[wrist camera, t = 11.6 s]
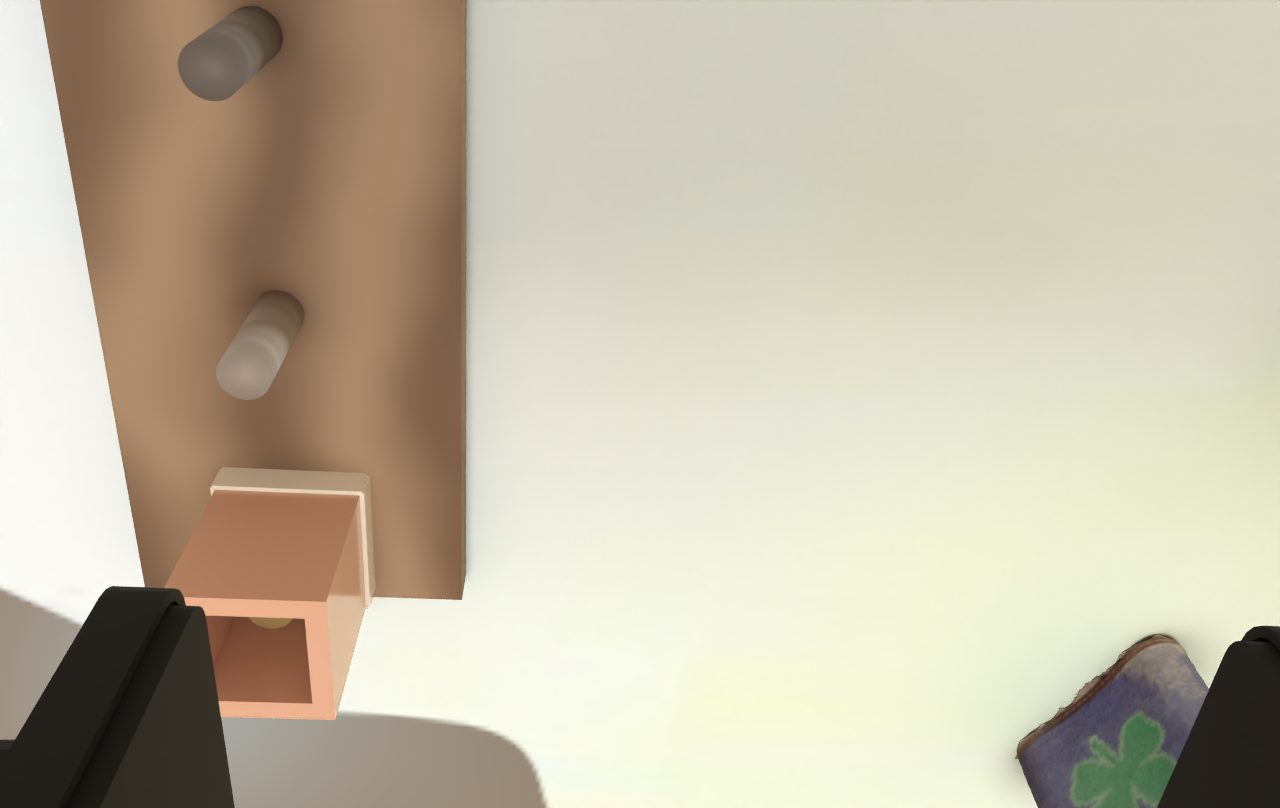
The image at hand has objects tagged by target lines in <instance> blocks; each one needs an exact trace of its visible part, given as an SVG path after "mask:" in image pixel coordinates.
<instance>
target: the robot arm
mask: <svg viewBox="0 0 1280 808" xmlns="http://www.w3.org/2000/svg"><path fill="white" fill-rule="evenodd" d="M0 808H234V801H233V795H232V788H231V781H230V774H229V768H228V762H227V754H226V747H225V741H224V734H223V727H222V721H221V714H220V707H219V701H218V694H217V687H216V680H215V674H214V667H213V660H212V654H211V647H210V640H209V634H208V627H207V620H206V616H205V612H204V610H203V608H202V607H200V606H186V604H185V600H184V596H183V594H182V593H181V591H180V590H178V589H175V588H147V587H118V586H111V587H109V588H108V589H106V590H105V591H104V592H103V593H102V595H101V596H100V597H99V599H98V601H97V602H96V604H95V606H94V607H93V609H92V611H91V612H90V614H89V616H88V617H87V619H86V621H85V623H84V624H83V626H82V628H81V629H80V631H79V633H78V634H77V636H76V638H75V640H74V641H73V643H72V645H71V646H70V648H69V650H68V651H67V653H66V655H65V656H64V658H63V660H62V662H61V663H60V665H59V667H58V668H57V670H56V672H55V673H54V675H53V677H52V678H51V680H50V682H49V683H48V685H47V687H46V689H45V690H44V692H43V694H42V695H41V697H40V699H39V700H38V702H37V704H36V705H35V707H34V709H33V711H32V712H31V714H30V716H29V717H28V719H27V721H26V723H25V724H24V726H23V727H22V729H21V731H20V732H19V734H18V736H17V738H16V739H15V740H0ZM1157 808H1280V626H1258V627H1253V628H1252V629H1251V630H1249V631H1248V632H1246V634H1245V636H1244V637H1243V639H1242V640H1241V641H1236V642H1234V643H1233V644H1231V645H1230V646H1229V648H1228V649H1227V651H1226V652H1225V655H1224V657H1223V659H1222V661H1221V664H1220V666H1219V668H1218V670H1217V673H1216V675H1215V677H1214V679H1213V682H1212V684H1211V686H1210V688H1209V691H1208V693H1207V695H1206V698H1205V700H1204V702H1203V704H1202V707H1201V709H1200V711H1199V713H1198V716H1197V718H1196V720H1195V722H1194V725H1193V727H1192V729H1191V731H1190V734H1189V736H1188V738H1187V741H1186V743H1185V745H1184V747H1183V750H1182V752H1181V754H1180V756H1179V759H1178V761H1177V763H1176V765H1175V768H1174V770H1173V772H1172V775H1171V777H1170V779H1169V781H1168V784H1167V786H1166V788H1165V790H1164V793H1163V795H1162V797H1161V799H1160V802H1159V804H1158V806H1157Z"/></svg>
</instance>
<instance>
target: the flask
mask: <svg viewBox="0 0 1280 808" xmlns="http://www.w3.org/2000/svg"><path fill="white" fill-rule="evenodd" d="M1119 658H1121V659H1120V661H1119V662H1117V663H1116V664H1115V665H1113V666H1112V667H1111V668H1110V669H1108V670H1107V671H1106V672H1103V673H1102V675H1100V676H1097V677H1095V678H1094V679H1093V680H1092V681H1091V682H1089V683H1086V684H1085V686H1084V688H1083V689H1081V690H1079V692H1078V694H1076V695H1077V697H1076V698H1075V700H1074V702H1073V704H1071V706H1069V707H1067V708H1066V709H1065V708H1059V711H1058V712H1057V714H1056V716H1055V718H1053V719H1052V720H1051V721H1050V722H1047V723H1044V724H1040V727H1038V729H1037V730H1036V731H1035V732H1033V733H1031V734H1030V735H1029V736H1027V737H1026V738H1024V739H1022V740H1021V741H1020V742H1019V745H1018V749H1017V750H1018V751H1017V756H1016V757H1015V759H1019V762H1020V764H1021V766H1022V769H1023V773H1024V775H1025V777H1026V779H1027V783H1028V785H1029V787H1030V789H1031V792H1032V794H1033V797H1034V799H1035V802H1036V804H1037V806H1038V808H1157V806H1158V804H1159V802H1160V799H1161V797H1162V795H1163V793H1164V790H1165V788H1166V786H1167V784H1168V781H1169V779H1170V777H1171V775H1172V772H1173V770H1174V768H1175V765H1176V763H1177V761H1178V759H1179V756H1180V754H1181V752H1182V750H1183V747H1184V745H1185V743H1186V741H1187V738H1188V736H1189V734H1190V731H1191V729H1192V727H1193V725H1194V722H1195V720H1196V718H1197V716H1198V713H1199V711H1200V709H1201V707H1202V704H1203V702H1204V700H1205V698H1206V695H1207V693H1208V691H1209V689H1208V687H1207V686H1206V684H1205V683H1204V681H1203V679H1202V678H1201V677H1200V675H1199V674H1198V672H1197V671H1196V669H1195V667H1194V665H1193V664H1192V663H1191V661H1190V659H1189V658H1188V656H1187V654H1186V652H1185V651H1184V649H1183V648H1182V647H1181V646H1180V645H1179V644H1177V643H1176V642H1175V641H1174V640H1172V639H1171V638H1167V637H1164V636H1162V635H1159V634H1156V635H1154V636H1153V638H1150V639H1148V640H1145V641H1144V642H1141V643H1137V644H1135V645H1134V646H1132V647H1131V648H1129V649H1128V650H1127V651H1124V652H1123V653H1122V654H1120V655H1119Z"/></svg>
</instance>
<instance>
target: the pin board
mask: <svg viewBox="0 0 1280 808" xmlns="http://www.w3.org/2000/svg"><path fill="white" fill-rule="evenodd" d="M40 4H41V9H42V15H43V20H44V26H45V31H46V37H47V43H48V48H49V54H50V59H51V65H52V71H53V76H54V82H55V87H56V93H57V98H58V104H59V110H60V115H61V121H62V126H63V132H64V137H65V143H66V149H67V154H68V160H69V165H70V171H71V177H72V182H73V188H74V193H75V199H76V204H77V210H78V216H79V221H80V227H81V232H82V238H83V243H84V249H85V255H86V260H87V266H88V271H89V277H90V283H91V288H92V294H93V299H94V305H95V310H96V316H97V322H98V327H99V333H100V338H101V344H102V349H103V355H104V361H105V366H106V372H107V377H108V383H109V389H110V394H111V400H112V405H113V411H114V416H115V422H116V428H117V433H118V439H119V444H120V450H121V455H122V461H123V467H124V472H125V478H126V483H127V489H128V495H129V500H130V506H131V511H132V517H133V522H134V528H135V534H136V539H137V545H138V550H139V556H140V561H141V567H142V573H143V578H144V584H145V587H147V588H164V587H165V585H166V583H167V581H168V579H169V577H170V576H171V574H172V572H173V570H174V568H175V566H176V564H177V562H178V560H179V558H180V556H181V554H182V552H183V550H184V548H185V547H186V545H187V543H188V541H189V539H190V537H191V535H192V533H193V531H194V529H195V527H196V525H197V523H198V521H199V520H200V518H201V516H202V514H203V512H204V510H205V508H206V506H207V504H208V502H209V500H210V498H211V491H210V487H211V485H212V483H213V481H214V479H215V477H216V475H217V473H218V471H219V470H220V469H221V468H222V467H233V468H257V469H281V470H305V471H328V472H352V473H368V475H370V487H371V507H372V527H373V546H374V566H375V586H376V587H375V591H374V595H373V597H395V598H424V599H453V600H462V595H463V589H464V582H465V548H466V0H40ZM249 619H250V620H251V621H252V622H253V623H255V624H256V625H258V626H261V627H264V628H268V629H277V628H281V627H284V626H286V625H287V624H289V623H290V622H291V620H292V618H267V617H249Z"/></svg>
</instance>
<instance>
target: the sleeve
mask: <svg viewBox="0 0 1280 808" xmlns="http://www.w3.org/2000/svg"><path fill="white" fill-rule="evenodd" d="M210 491H211V498H210V500H209V502H208V504H207V506H206V508H205V510H204V512H203V514H202V516H201V518H200V520H199V521H198V523H197V525H196V527H195V529H194V531H193V533H192V535H191V537H190V539H189V541H188V543H187V545H186V547H185V548H184V550H183V552H182V554H181V556H180V558H179V560H178V562H177V564H176V566H175V568H174V570H173V572H172V574H171V576H170V577H169V579H168V581H167V583H166V585H165V587H164V588H175V589H178V590H180V591H181V593H182V594H183V596H184V600H185V604H186V606H200V607H202V608H203V610H204V612H205V616H206V620H207V627H208V634H209V640H210V647H211V654H212V660H213V667H214V674H215V680H216V687H217V694H218V701H219V707H220V714H221V717H247V718H251V717H252V718H286V719H289V718H290V719H325V720H327V719H328V720H335V719H336V716H337V712H338V708H339V705H340V701H341V697H342V693H343V689H344V686H345V682H346V678H347V674H348V671H349V667H350V663H351V659H352V656H353V652H354V648H355V644H356V641H357V637H358V633H359V629H360V626H361V622H362V618H363V614H364V610H365V609H368V608H369V607H370V606H371V602H372V599H373V595H374V591H375V587H376V586H375V566H374V546H373V527H372V507H371V487H370V475H368V473H352V472H328V471H305V470H281V469H257V468H233V467H222V468H221V469H220V470H219V471H218V473H217V475H216V477H215V479H214V481H213V483H212V485H211V487H210ZM249 617H267V618H292V620H291V622H290V623H289V624H287V625H286V626H284V627H281V628H277V629H268V628H264V627H261V626H258V625H256V624H255V623H253V622H252V621H251V620H250V619H249Z"/></svg>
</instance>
